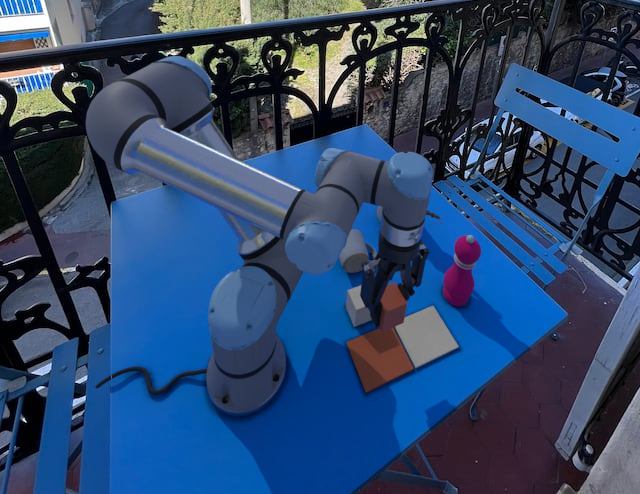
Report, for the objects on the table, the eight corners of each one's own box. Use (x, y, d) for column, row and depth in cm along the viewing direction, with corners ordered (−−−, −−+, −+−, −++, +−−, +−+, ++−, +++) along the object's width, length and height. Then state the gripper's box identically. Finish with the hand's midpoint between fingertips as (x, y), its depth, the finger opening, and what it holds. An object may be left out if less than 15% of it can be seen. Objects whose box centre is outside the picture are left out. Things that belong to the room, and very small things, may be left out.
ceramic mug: (341, 278, 101) (344, 256, 98) (333, 251, 108) (335, 230, 105) (381, 269, 104) (384, 248, 101) (371, 244, 111) (374, 223, 108)
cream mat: (415, 368, 84) (416, 367, 83) (392, 323, 92) (393, 322, 91) (458, 347, 88) (458, 346, 88) (433, 306, 96) (433, 305, 96)
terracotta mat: (365, 393, 79) (365, 391, 79) (346, 343, 87) (346, 342, 87) (413, 369, 83) (413, 368, 83) (390, 324, 91) (391, 323, 91)
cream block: (354, 327, 90) (356, 310, 88) (345, 307, 94) (347, 290, 92) (374, 319, 92) (376, 302, 90) (365, 299, 96) (367, 282, 94)
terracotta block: (381, 332, 79) (384, 312, 76) (370, 309, 83) (373, 290, 80) (403, 322, 81) (407, 303, 78) (391, 300, 85) (394, 281, 82)
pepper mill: (435, 285, 101) (448, 227, 93) (459, 278, 104) (474, 220, 95) (450, 312, 95) (466, 253, 87) (476, 303, 98) (494, 245, 89)
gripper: (364, 265, 65) (354, 351, 75) (454, 233, 72) (434, 315, 82) (346, 230, 71) (338, 314, 81) (430, 204, 79) (414, 284, 88)
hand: (386, 315), depth 82 cm, fingers closed on terracotta block, 5 cm apart
